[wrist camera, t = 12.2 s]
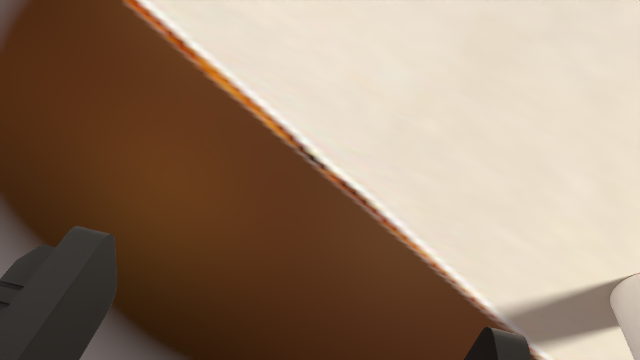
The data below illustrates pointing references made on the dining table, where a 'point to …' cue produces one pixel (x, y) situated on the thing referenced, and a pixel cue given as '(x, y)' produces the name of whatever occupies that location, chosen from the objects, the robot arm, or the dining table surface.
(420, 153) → the dining table surface
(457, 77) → the dining table surface
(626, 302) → the cylindrical container
